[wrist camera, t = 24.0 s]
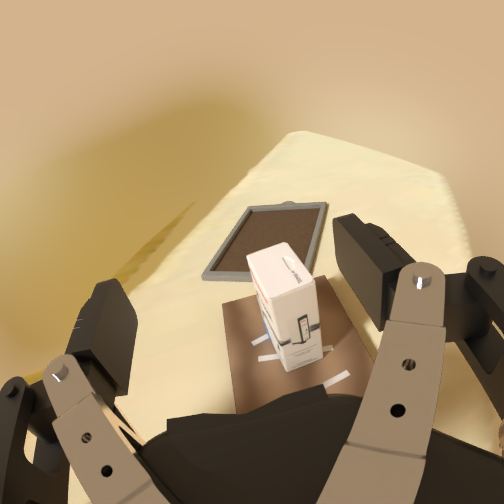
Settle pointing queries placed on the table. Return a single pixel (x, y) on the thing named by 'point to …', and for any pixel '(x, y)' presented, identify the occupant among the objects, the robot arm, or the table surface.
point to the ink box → (287, 304)
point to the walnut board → (270, 366)
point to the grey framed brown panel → (268, 238)
